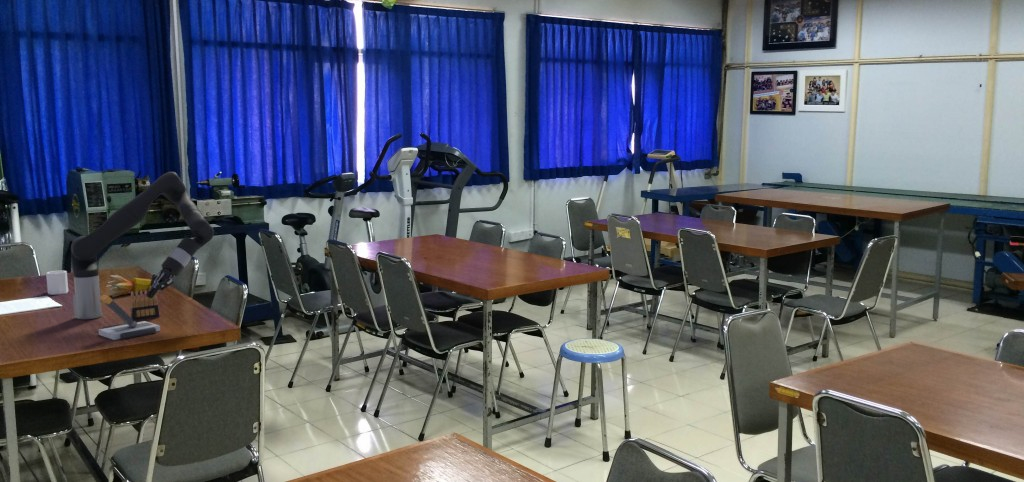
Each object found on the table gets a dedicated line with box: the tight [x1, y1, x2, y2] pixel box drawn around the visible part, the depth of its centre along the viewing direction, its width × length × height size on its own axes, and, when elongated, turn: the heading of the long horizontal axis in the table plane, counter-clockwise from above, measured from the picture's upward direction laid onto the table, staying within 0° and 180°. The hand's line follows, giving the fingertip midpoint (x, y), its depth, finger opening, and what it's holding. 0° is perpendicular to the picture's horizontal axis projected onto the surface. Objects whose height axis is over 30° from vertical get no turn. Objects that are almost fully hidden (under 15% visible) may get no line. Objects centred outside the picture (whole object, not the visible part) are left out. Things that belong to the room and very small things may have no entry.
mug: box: [45, 269, 69, 296], centre depth 416 cm, size 12×9×10 cm
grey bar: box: [101, 320, 137, 329], centre depth 343 cm, size 13×2×2 cm, turn 139°
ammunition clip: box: [130, 289, 160, 321], centre depth 361 cm, size 11×2×12 cm, turn 128°
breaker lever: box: [99, 294, 137, 327], centre depth 335 cm, size 2×4×16 cm
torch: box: [106, 274, 152, 298], centre depth 413 cm, size 8×8×25 cm
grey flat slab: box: [98, 320, 161, 341], centre depth 338 cm, size 18×12×2 cm, turn 139°
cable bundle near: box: [120, 327, 157, 340], centre depth 333 cm, size 13×2×2 cm, turn 139°
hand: (148, 297), depth 343 cm, fingers closed
